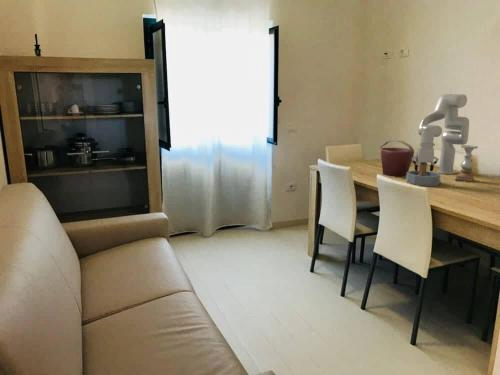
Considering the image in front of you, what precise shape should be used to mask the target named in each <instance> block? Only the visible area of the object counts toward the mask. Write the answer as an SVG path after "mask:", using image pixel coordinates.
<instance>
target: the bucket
mask: <svg viewBox="0 0 500 375" xmlns="http://www.w3.org/2000/svg"><path fill="white" fill-rule="evenodd" d="M390 142H397V143H401V144H403V145H405V146H406V147H408V148H405V147H383V146H386V145H387V144H389V143H390ZM380 149H381V150H380V157H381V167H382V175H383V176H388V177H394V178H395V177H396V178H397V177H398V178H402V177H403V178H404V177H406V174H407V172H408V171H410V169H411V165H412V163H413V162H412V159H411V158H413V157H415V156H414V155H415V150H414V148H413V147H412V145H410V144H409V143H408V142H405V141H403V140H386V141H385V142H384V143H382V144H381V145H380Z"/></svg>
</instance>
